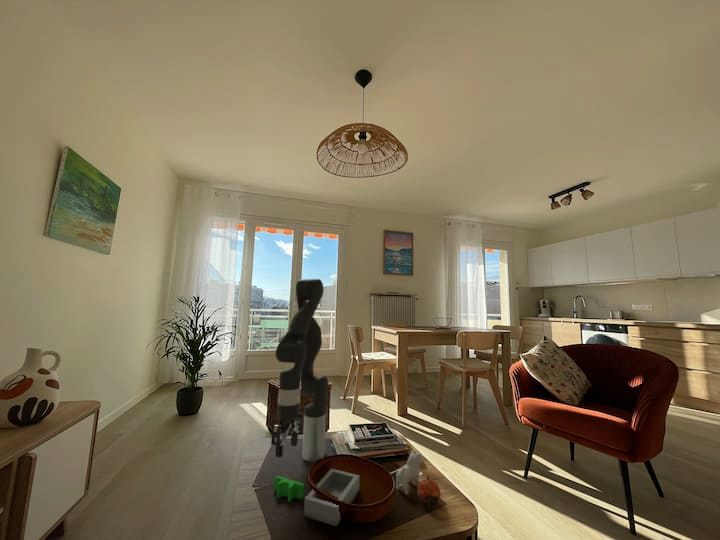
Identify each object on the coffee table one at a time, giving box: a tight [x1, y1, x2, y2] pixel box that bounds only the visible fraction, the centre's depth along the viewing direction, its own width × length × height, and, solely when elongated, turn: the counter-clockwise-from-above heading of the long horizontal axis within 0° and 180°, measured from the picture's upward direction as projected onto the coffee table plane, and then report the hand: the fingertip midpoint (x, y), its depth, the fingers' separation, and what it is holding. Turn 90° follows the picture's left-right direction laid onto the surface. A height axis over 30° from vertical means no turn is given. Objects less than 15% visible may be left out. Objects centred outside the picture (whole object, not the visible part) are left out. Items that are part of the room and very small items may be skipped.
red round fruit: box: [417, 475, 441, 508], centre depth 98 cm, size 7×7×10 cm
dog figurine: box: [396, 449, 423, 496], centre depth 108 cm, size 5×13×11 cm, turn 137°
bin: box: [303, 468, 360, 527], centre depth 97 cm, size 18×11×5 cm, turn 158°
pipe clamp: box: [274, 475, 305, 502], centre depth 100 cm, size 11×4×5 cm, turn 67°
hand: (286, 450), depth 101 cm, fingers open, 8 cm apart
